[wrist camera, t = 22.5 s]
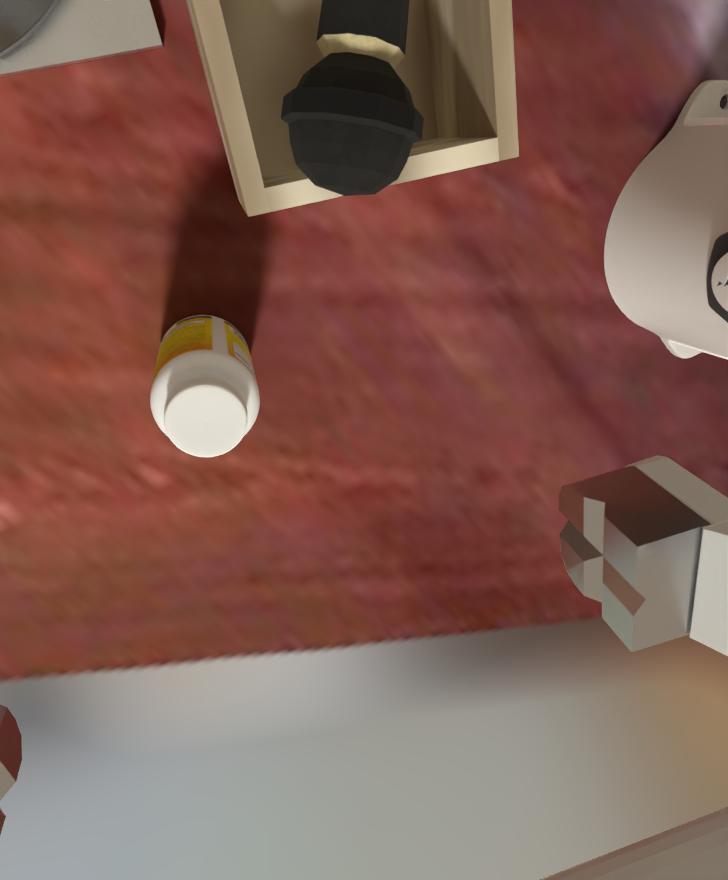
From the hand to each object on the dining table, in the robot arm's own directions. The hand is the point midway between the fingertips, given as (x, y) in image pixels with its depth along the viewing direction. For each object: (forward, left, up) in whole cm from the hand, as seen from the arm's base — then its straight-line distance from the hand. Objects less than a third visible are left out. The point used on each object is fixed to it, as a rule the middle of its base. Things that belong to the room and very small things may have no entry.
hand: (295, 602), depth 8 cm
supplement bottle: (+3, +6, -31) cm, 32 cm away
